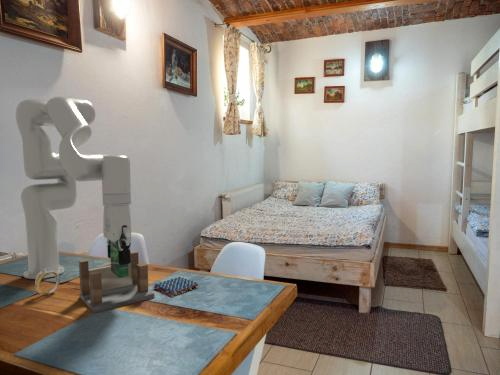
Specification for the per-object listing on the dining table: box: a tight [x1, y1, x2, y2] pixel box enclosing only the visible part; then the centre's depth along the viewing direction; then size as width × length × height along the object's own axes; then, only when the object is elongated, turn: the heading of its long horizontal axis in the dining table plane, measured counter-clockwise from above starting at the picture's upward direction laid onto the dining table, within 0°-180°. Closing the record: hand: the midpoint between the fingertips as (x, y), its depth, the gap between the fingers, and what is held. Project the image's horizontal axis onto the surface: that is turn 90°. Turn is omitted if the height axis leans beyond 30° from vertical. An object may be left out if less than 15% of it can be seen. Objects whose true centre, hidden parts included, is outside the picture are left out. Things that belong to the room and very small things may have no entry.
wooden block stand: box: [78, 250, 155, 314], centre depth 111 cm, size 14×17×11 cm
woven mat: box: [152, 276, 199, 298], centre depth 119 cm, size 10×11×2 cm
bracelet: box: [34, 267, 61, 295], centre depth 114 cm, size 7×3×8 cm, turn 141°
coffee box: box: [109, 233, 129, 278], centre depth 108 cm, size 8×3×13 cm, turn 37°
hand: (118, 260), depth 108 cm, fingers closed on coffee box, 8 cm apart
